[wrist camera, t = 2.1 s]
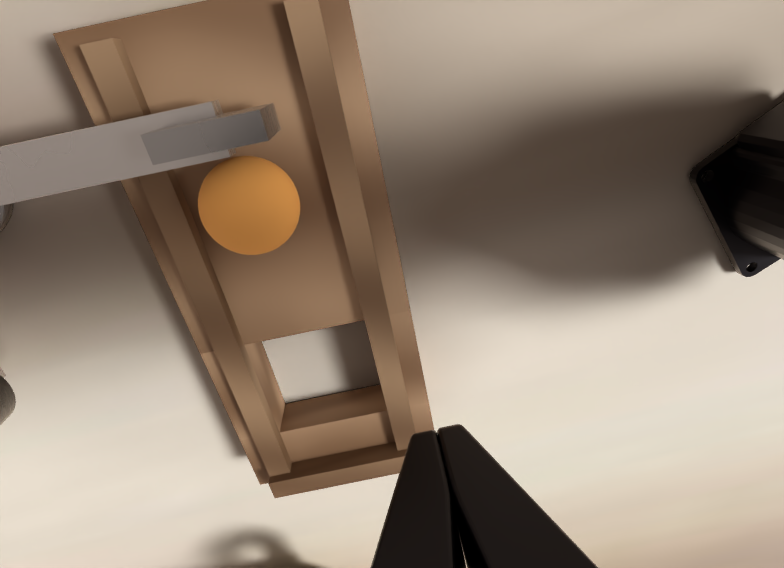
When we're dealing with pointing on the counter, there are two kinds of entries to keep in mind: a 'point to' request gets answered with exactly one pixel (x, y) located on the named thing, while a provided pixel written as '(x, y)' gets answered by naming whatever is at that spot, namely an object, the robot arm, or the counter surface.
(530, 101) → the counter surface
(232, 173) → the ball
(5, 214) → the pivot post
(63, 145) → the lever
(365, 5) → the counter surface
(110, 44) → the lane
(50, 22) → the counter surface
